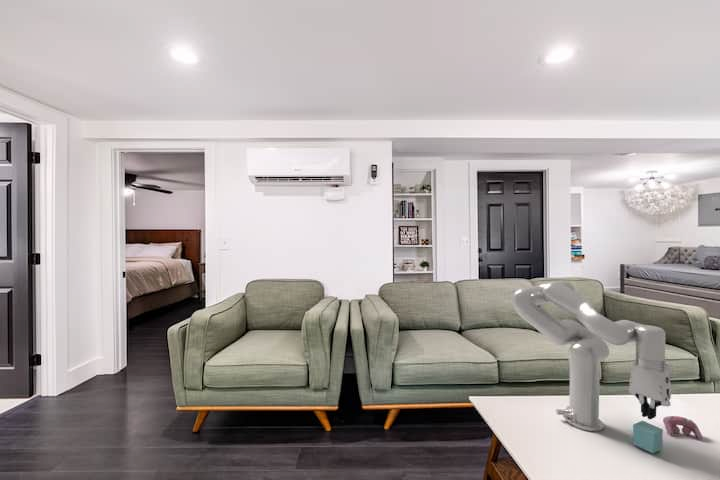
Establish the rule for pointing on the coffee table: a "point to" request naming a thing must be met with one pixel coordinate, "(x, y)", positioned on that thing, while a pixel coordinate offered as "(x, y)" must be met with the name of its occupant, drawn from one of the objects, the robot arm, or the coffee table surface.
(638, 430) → the teal block
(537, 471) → the coffee table surface
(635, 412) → the coffee table surface
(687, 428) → the video game controller
